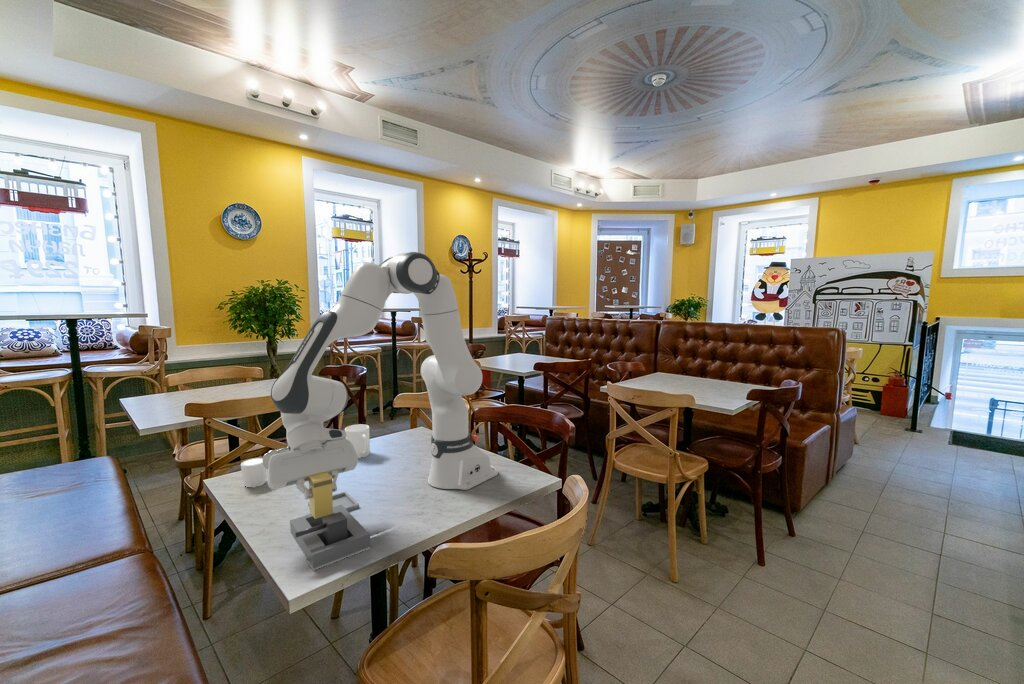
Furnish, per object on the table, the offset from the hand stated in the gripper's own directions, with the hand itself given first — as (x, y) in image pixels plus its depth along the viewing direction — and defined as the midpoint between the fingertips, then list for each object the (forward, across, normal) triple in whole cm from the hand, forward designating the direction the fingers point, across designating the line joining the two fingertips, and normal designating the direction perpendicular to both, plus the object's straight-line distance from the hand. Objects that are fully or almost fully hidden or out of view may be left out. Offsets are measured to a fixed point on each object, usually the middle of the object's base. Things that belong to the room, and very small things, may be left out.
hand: (321, 494), depth 99 cm
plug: (+3, 0, +4) cm, 5 cm away
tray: (-1, +6, +15) cm, 16 cm away
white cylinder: (-23, -7, +37) cm, 44 cm away
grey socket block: (+10, 0, +4) cm, 11 cm away
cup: (-24, +26, +39) cm, 53 cm away
